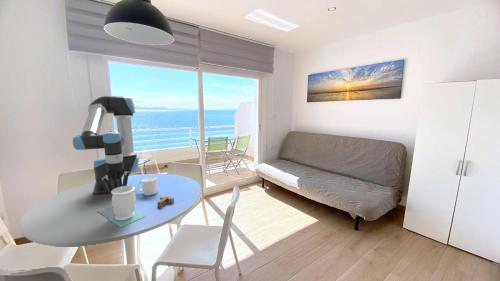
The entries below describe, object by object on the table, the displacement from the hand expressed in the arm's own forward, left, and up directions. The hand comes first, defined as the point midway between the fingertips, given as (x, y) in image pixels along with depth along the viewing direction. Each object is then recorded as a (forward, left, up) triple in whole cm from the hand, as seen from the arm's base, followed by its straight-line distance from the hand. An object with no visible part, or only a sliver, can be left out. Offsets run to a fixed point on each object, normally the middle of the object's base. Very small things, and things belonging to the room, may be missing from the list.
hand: (119, 204), depth 108 cm
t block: (+10, +20, -5) cm, 23 cm away
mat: (+2, 0, -5) cm, 5 cm away
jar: (+6, 0, -5) cm, 8 cm away
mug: (-14, +24, -5) cm, 28 cm away
